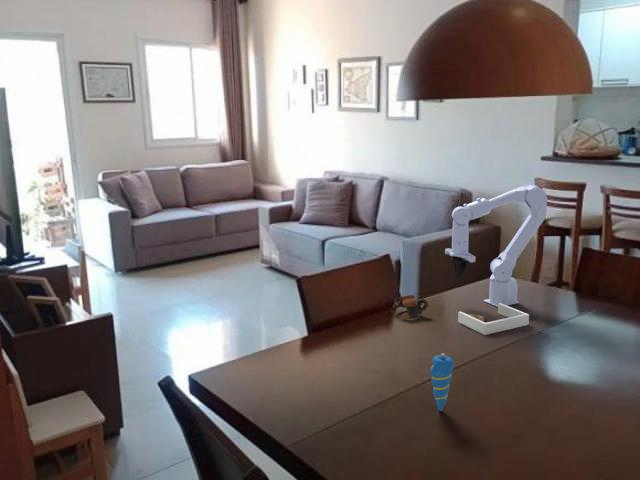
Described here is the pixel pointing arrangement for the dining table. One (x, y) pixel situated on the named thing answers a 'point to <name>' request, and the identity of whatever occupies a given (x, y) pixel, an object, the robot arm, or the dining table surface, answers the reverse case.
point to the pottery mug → (411, 306)
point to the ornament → (441, 378)
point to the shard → (477, 317)
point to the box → (513, 320)
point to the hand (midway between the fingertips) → (459, 277)
